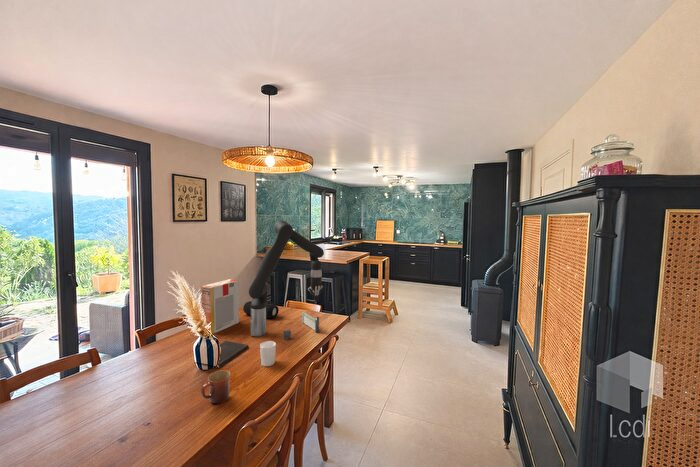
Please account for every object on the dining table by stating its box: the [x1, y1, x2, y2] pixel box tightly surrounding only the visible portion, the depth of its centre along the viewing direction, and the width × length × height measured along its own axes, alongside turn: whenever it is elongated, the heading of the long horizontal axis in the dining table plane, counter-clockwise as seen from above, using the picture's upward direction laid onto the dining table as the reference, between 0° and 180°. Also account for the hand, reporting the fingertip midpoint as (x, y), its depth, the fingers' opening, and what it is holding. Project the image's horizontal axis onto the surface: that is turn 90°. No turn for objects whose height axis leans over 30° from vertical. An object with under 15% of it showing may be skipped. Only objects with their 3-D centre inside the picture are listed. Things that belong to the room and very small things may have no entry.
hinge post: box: [314, 316, 320, 334], centre depth 188 cm, size 2×2×10 cm
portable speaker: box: [242, 300, 280, 319], centre depth 215 cm, size 26×10×10 cm, turn 71°
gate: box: [301, 311, 316, 331], centre depth 196 cm, size 18×2×7 cm, turn 37°
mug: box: [200, 369, 232, 404], centre depth 118 cm, size 12×9×10 cm
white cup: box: [259, 340, 277, 367], centre depth 148 cm, size 8×8×10 cm
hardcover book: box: [216, 340, 249, 369], centre depth 156 cm, size 16×23×2 cm
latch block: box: [282, 328, 292, 340], centre depth 178 cm, size 4×2×5 cm, turn 112°
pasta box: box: [200, 278, 240, 335], centre depth 192 cm, size 23×8×30 cm, turn 156°
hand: (315, 300), depth 200 cm, fingers closed
